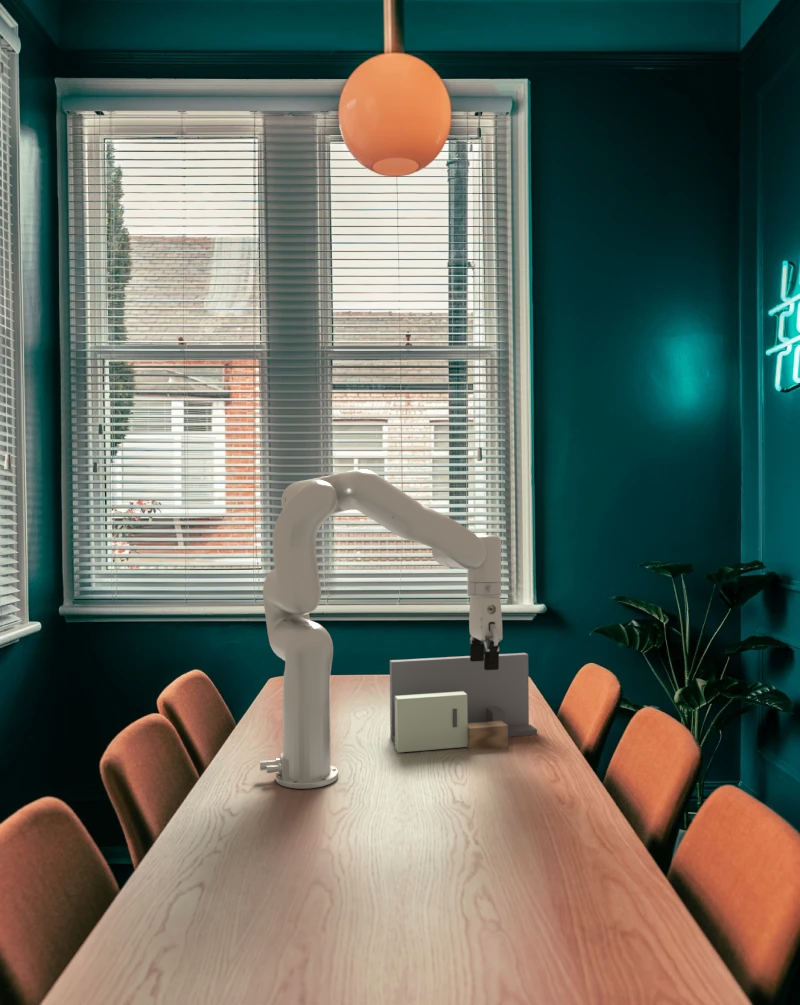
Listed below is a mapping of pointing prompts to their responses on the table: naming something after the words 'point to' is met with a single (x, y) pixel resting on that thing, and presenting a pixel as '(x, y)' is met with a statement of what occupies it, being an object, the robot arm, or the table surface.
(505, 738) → the walnut block
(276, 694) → the table surface
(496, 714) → the grey upright panel
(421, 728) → the door
